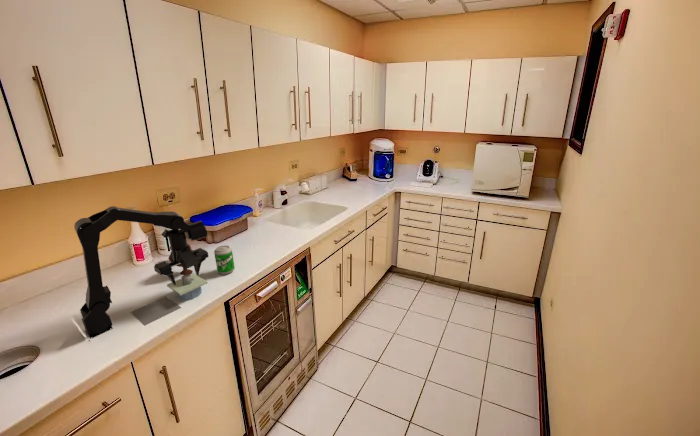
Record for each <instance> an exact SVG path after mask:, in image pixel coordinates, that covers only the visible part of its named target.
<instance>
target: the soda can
mask: <svg viewBox="0 0 700 436" xmlns="http://www.w3.org/2000/svg"><path fill="white" fill-rule="evenodd" d="M213 253H214V258H215V265H216V270H217V271H216V272H217V273H218V274H220V275H223V276H224V275H225V276H226V275H229V274H232V273H233V272H234V271H235V262H234V261H235V260H234V255H233V249H232V247H231V246H229V245H225V244H224V245H219V246H217V247H216V248H215V249H214V251H213Z"/></svg>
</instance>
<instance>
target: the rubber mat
mask: <svg viewBox="0 0 700 436" xmlns="http://www.w3.org/2000/svg"><path fill="white" fill-rule="evenodd" d="M180 309H182V307H181V306H180V305H179V304H177V303H176V302H175V301H173V300H172V299H171V298H169V297H168V296H167V295H165V296H162V297H160V298H157V299H155V300H154V301H150V302H149V303H146V304H145V305H143V306H140V307H138V308H136V309H133V310H132V311H130V312H129V313H130V314H132V315H133V317H134V318H135V319H136V320H138V321H139V323H141V324H142V325H143V326H147V325H149V324H151V323H153V322H156V321H157V320H160V319H161V318H164V317H165V316H167V315H169V314H172V313H174V312H175V311H177V310H180Z"/></svg>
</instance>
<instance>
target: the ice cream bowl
mask: <svg viewBox="0 0 700 436" xmlns="http://www.w3.org/2000/svg"><path fill="white" fill-rule="evenodd" d="M187 245H188V246H189V248H190V250H191V252H192V251H193V250H194V249H192V247H191V245H190V244H189V243H187ZM169 254H170V255H169V256H168V258H167V259H168V261H169V263H170V262H172V261H174V260H173V259H172V256H173V255H172V251H171V250H170V253H169ZM175 267H181V268H182V270H181V271H180V272H179V275H181V276H183V275H187V274H189V275H191V274H193V270H192V269H190V268H187V269H186V268H184V266H183V265H182V264H179V265H176V266H175Z"/></svg>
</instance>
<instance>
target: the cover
mask: <svg viewBox="0 0 700 436" xmlns="http://www.w3.org/2000/svg"><path fill="white" fill-rule="evenodd" d="M175 282H176V285H174V284H173V283H172V282H170V283H167V284H166V287H168V288H169V289H170V290H172V292H174V293H175V294H176V293H177V294H179V295H180V296H181V295H183V294H185V293H187V292H190V291H192V290H194V289H196V288H198V287H200V286H201V287H203V286H204V285H207V284H208V280H205V279H204V278H202V277H200V276H199V275H196V273H193V272H192V274H190V275H189V274H187V275H181V278H179V279H177V280H176V279H175Z"/></svg>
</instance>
